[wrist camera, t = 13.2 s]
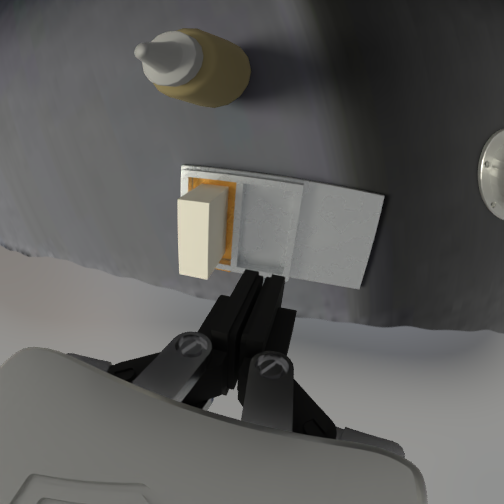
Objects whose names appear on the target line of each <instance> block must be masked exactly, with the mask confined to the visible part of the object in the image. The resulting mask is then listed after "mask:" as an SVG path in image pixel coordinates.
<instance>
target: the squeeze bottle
mask: <svg viewBox="0 0 504 504" xmlns="http://www.w3.org/2000/svg"><path fill="white" fill-rule="evenodd" d="M134 53H135V56H136V57H137V58H138V59H140V60H141V61H142V65H143V70H144V73H145V75H146V76H147V78H148V79H149V81H151V82H153V84H154V85H155V87H156V88H157V89H158V91H160V92H162V93H164V94H165V95H167V96H169V97H172V98H176V99H179V100H183V101H186V102H189V103H193V104H196V105H199V106H205V107H212V108H216V107H220V106H224V105H228V104H229V103H231V102H232V101H234V100H235V99H237V98H238V97H240V96H241V94H242V93H243V91H244V90H245V88H246V87H247V85H248V83H249V78H250V74H251V68H250V63H249V59H248V57H247V55H246V54H245V53H244V51H243V50H242V49H241V48H240V47H239V46H237V45H235V44H233V43H231V42H229V41H227V40H225V39H222V38H220V37H217V36H215V35H212V34H210V33H207V32H204V31H202V30H199V29H187V28H183V29H180V30H177V31H168V32H166V33H163V34H161V35H158V36H157V37H156V38H155V39H154V40H153V41H151V42H147V43H140V44H139V45H138V46H137V47H136V49H135V52H134Z"/></svg>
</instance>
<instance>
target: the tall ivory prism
mask: <svg viewBox="0 0 504 504" xmlns="http://www.w3.org/2000/svg"><path fill="white" fill-rule="evenodd" d="M228 192H229V187H227V186H219V185H210V184H200V185H199V186H197V187H196V188H194V189H193V190H191V191H189V192H188V193H186V194H185V195H183V196H182V197H180V198H179V199H178V250H179V274H182V275H187V276H192V277H197V278H202V279H207V280H208V278H209V277H210V275H211V274H212V272H213V271H214V269H215V268H216V266H217V265H218V263H219V261H220V260H221V258H222V257H223V255H224V254H225V247H226V227H227V209H228Z"/></svg>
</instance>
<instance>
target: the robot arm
mask: <svg viewBox="0 0 504 504" xmlns="http://www.w3.org/2000/svg"><path fill="white" fill-rule="evenodd" d="M484 163H485V164H484ZM478 184H479V190H480V193H481V196H482V199H483V201H484V203H485V205H486V206H487V208H488V209H489V210H490V212H492V213H493V214H494V215H495V216H497V217H498V218H500V219H502V220H504V129H502V130H499V131H497V132H496V133H494V134H493V135H492V136H491V137H490V138H489V139H488V141H487V142H486V144H485V146H484V148H483V150H482V153H481V156H480V160H479V165H478ZM262 284H263V276H261V275H259V271H253V270H248V269H245V271H244V273H243V274H242V276H241V278H240V280H239V282H238V283H237V285H236V287H235V289H234V291H233V292H232V294H231V296H230V297H229V296H225V295H220V297H219V298H218V299H217V301H216V303H215V305H214V306H213V308H212V309H211V311H210V313H209V314H208V316H207V317H206V319H205V321H204V322H203V324H202V326H201V327H200V329H199V331H198V332H185V333H182V334H180V335H178V336H176V337H175V338H174V339H173V340H172V341H171V342H170V343H169V344H168V345H167V346H166V347H165V348H164V349H163V350H162V352H160V353H155V354H152V355H148V356H144V357H140V358H136V359H132V360H128V361H124V362H121V363H118V364H115V365H112V363H111V362H108V361H103V360H98V359H94V358H90V357H85V356H81V355H77V354H72V353H68V354H65V353H62V352H59V351H55V350H52V349H48V348H39V347H28V348H24V349H22V350H20V351H18V352H16V353H15V354H14V355H13V356H11V357H10V358H9V359H8V360H6V361H5V362H4V363H3V364H2V365H1V366H0V504H427V491H426V486H425V482H424V478H423V476H422V474H421V472H420V470H419V469H418V468H417V467H416V466H415V465H414V464H413V463H412V462H410V461H408V460H407V459H405V456H404V455H405V453H404V451H403V448H402V447H401V446H400V445H399V444H398V443H395V442H393V441H390V440H387V439H383V438H379V437H376V436H373V435H369V434H366V433H363V432H359V431H356V430H353V429H350V428H347V427H345V429H341V428H339V427H336V426H335V424H334V423H333V421H332V420H331V419H330V418H329V417H328V416H327V415H326V414H325V413H324V411H323V410H322V409H321V408H320V407H319V406H318V405H317V404H316V403H315V402H314V401H313V400H312V398H311V397H310V396H309V395H308V394H307V393H306V392H305V391H304V390H303V389H302V387H301V386H300V385H299V384H298V383H297V382H296V381H295V380H294V377H293V375H294V368H293V363H292V362H291V360H290V359H289V358H288V357H287V353H288V349H289V344H290V340H291V335H292V331H293V327H294V322H295V317H296V312H297V311H296V310H291V309H286V308H281V303H282V297H283V290H284V284H285V277H284V276H279V275H274V274H272V276H271V277H266V279H265V282H264V284H263V286H262ZM237 380H238V386H237V390H238V400H239V402H240V403H241V405H242V406H243V411H242V418H241V421H240V420H237V419H233V418H229V417H226V416H223V415H219V414H216V413H212V412H209V411H207V410H208V409H209V407H210V406H211V404H212V402H213V398H214V397H217V396H220V395H222V394H223V395H227V393H228V390H229V389H234V388H235V385H236V383H237Z"/></svg>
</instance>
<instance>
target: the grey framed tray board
mask: <svg viewBox="0 0 504 504" xmlns="http://www.w3.org/2000/svg"><path fill="white" fill-rule="evenodd" d="M200 184H210V185H219V186H227V187H229V192H228V209H227V227H226V247H225V254H224V255H223V257H222V258H221V260H220V261H219V263H218V265H217V266H216V268H215V269H217V270H223V271H228V272H231V271H232V272H238V273H244V271H245V269H248V270H253V271H259V275H261V276H263V277H264V278H266V277H271V276H272V274H274V275H279V276H284V277H285V281H286V282H288V279H289V277H292V278H298V279H303V280H309V281H315V282H320V283H326V284H332V285H337V286H343V287H349V288H355V289H359V288H360V285H361V282H362V279H363V276H364V272H365V269H366V266H367V262H368V259H369V255H370V252H371V248H372V244H373V241H374V237H375V233H376V229H377V225H378V221H379V217H380V213H381V209H382V205H383V200H384V195H383V194H379V193H374V192H369V191H365V190H360V189H355V188H350V187H345V186H340V185H334V184H329V183H323V182H318V181H312V180H306V179H300V178H293V177H287V176H280V175H274V174H267V173H259V172H252V171H244V170H235V169H227V168H218V167H208V166H198V165H186V164H184V165H181V197H182V196H183V195H185V194H186V193H188V192H189V191H191V190H193V189H194V188H196V187H197V186H199V185H200Z"/></svg>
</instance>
